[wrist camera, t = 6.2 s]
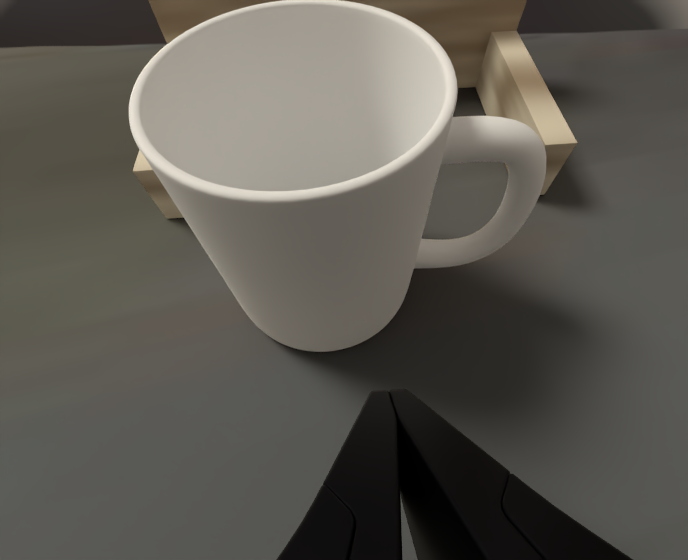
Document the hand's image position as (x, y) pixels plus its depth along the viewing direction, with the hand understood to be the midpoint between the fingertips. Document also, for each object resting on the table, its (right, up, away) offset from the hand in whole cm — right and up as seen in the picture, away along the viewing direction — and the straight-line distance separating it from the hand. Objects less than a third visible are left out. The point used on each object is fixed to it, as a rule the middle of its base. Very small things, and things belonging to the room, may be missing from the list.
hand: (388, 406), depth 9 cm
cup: (0, +3, +10) cm, 10 cm away
